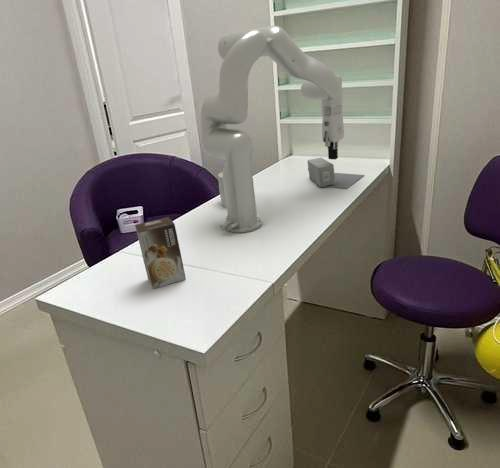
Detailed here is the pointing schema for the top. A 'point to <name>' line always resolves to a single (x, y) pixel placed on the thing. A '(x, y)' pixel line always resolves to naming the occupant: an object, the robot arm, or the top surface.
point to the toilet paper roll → (221, 189)
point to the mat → (344, 180)
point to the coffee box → (160, 252)
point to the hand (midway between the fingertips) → (333, 158)
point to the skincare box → (321, 172)
